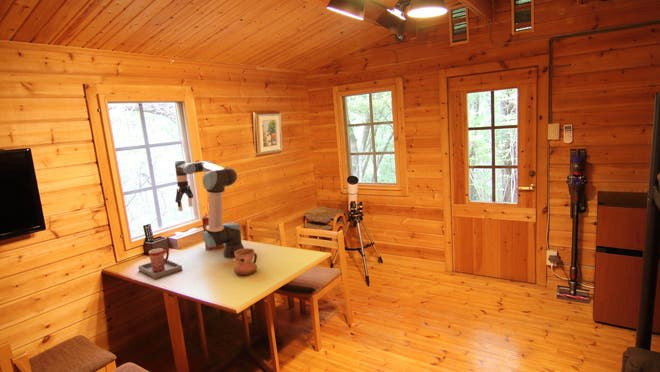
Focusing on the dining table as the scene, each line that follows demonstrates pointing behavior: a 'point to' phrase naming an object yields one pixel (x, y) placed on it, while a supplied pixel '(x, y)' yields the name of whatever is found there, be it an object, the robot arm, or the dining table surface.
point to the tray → (169, 269)
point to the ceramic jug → (245, 261)
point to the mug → (158, 259)
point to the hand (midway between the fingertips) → (185, 208)
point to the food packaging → (205, 224)
